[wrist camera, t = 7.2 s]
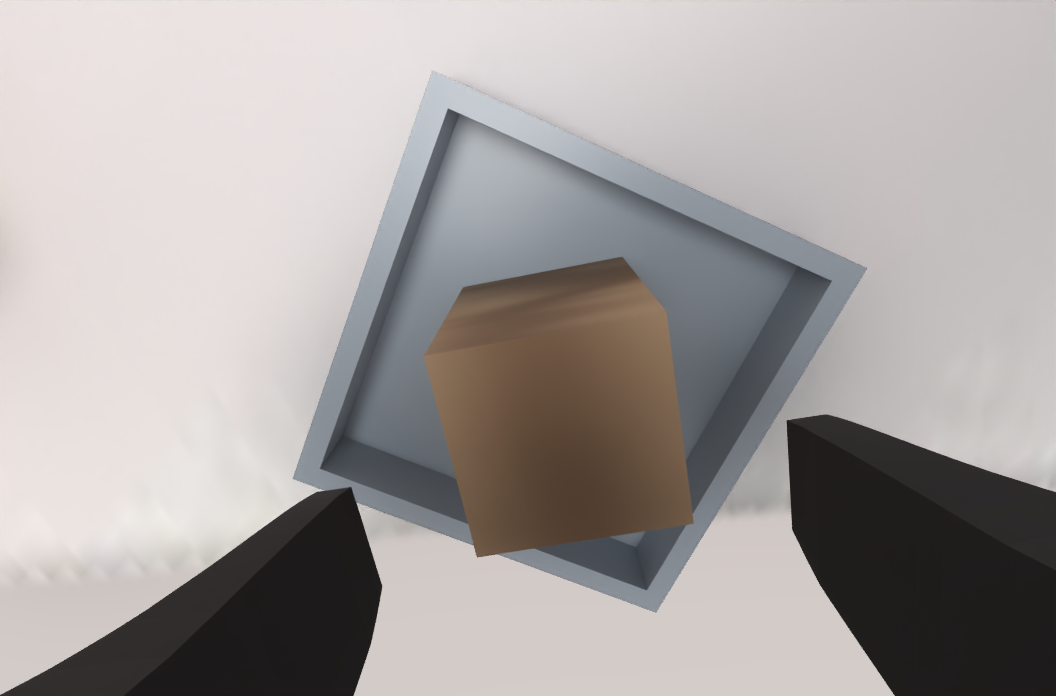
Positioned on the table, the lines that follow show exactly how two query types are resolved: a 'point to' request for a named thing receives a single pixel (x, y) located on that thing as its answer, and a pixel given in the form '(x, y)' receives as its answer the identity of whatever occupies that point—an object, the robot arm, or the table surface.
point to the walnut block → (561, 408)
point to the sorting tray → (547, 244)
